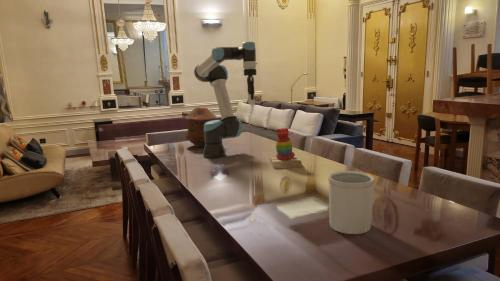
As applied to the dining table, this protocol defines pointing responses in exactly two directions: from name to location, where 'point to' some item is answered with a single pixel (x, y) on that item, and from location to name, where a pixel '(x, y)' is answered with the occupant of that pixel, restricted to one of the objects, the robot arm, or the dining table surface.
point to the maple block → (285, 162)
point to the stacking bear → (284, 145)
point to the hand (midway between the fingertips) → (251, 104)
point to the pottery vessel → (198, 125)
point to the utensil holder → (350, 201)
